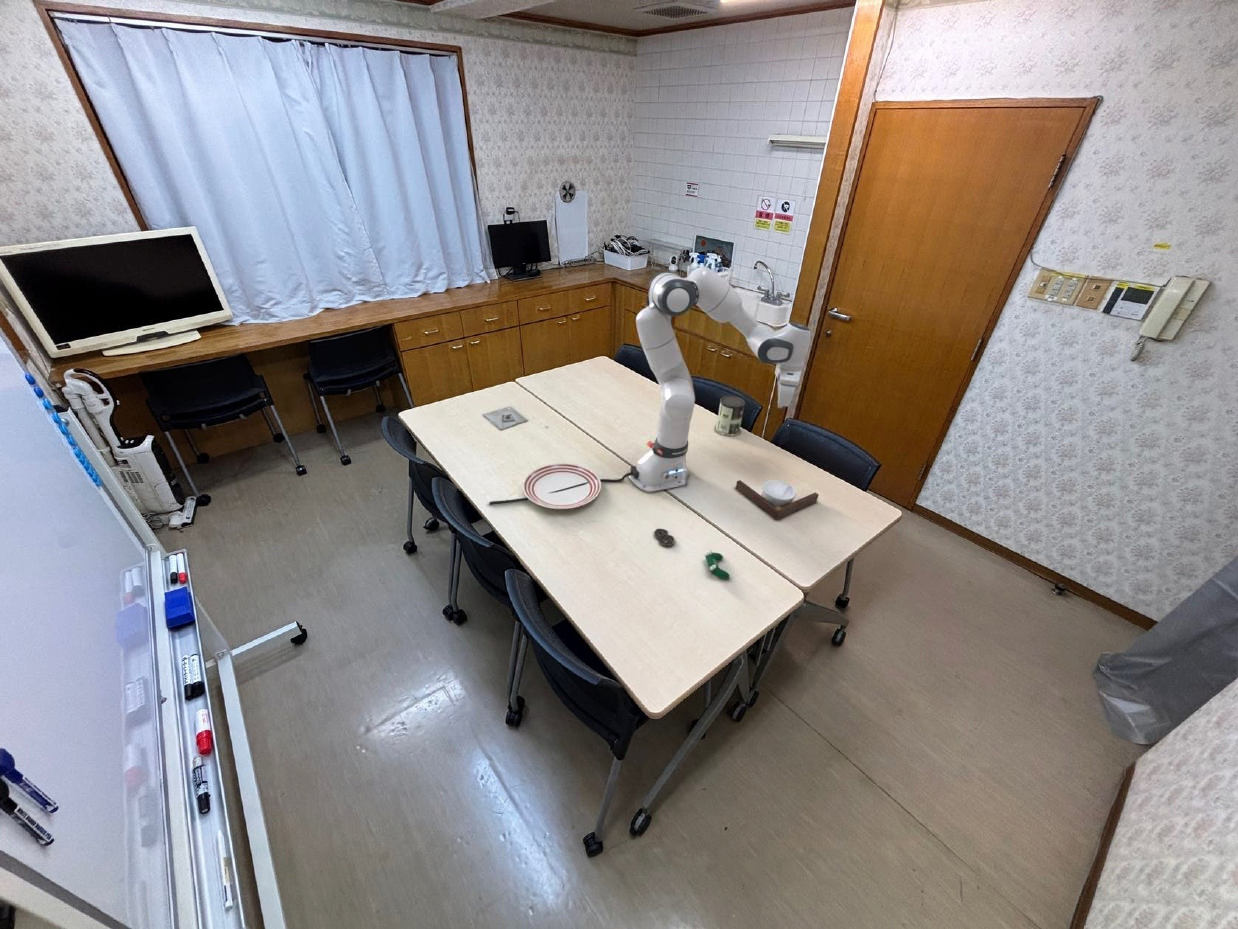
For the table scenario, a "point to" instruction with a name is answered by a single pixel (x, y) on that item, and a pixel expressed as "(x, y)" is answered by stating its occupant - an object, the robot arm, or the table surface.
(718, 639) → the table surface
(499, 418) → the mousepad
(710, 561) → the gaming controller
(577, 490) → the plate
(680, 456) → the robot arm
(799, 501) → the corner guard
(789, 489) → the ramekin
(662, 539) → the corroded twin loop
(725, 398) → the coffee can
